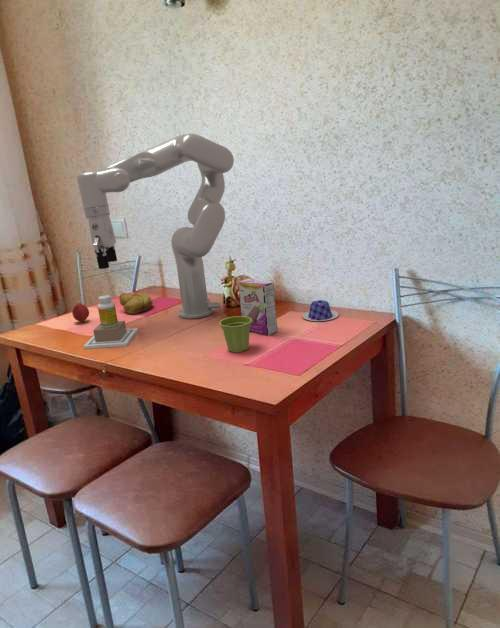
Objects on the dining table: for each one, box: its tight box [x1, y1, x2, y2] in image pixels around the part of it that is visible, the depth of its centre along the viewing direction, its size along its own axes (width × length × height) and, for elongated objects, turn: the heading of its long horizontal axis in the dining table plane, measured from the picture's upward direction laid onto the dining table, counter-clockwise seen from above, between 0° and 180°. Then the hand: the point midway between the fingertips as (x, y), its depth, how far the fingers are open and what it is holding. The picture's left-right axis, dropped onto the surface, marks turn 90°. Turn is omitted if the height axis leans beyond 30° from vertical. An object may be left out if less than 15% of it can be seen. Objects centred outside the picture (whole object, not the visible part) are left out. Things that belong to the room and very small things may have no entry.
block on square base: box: [82, 320, 139, 350], centre depth 167 cm, size 14×14×5 cm
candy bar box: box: [237, 278, 278, 337], centre depth 160 cm, size 11×5×16 cm, turn 47°
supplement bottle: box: [97, 294, 119, 328], centre depth 165 cm, size 5×5×10 cm
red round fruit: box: [72, 301, 90, 323], centre depth 188 cm, size 6×6×8 cm
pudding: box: [302, 299, 339, 322], centre depth 170 cm, size 12×12×5 cm
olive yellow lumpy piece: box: [118, 291, 154, 315], centre depth 197 cm, size 13×10×8 cm
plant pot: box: [219, 315, 252, 353], centre depth 148 cm, size 9×9×9 cm
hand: (108, 264), depth 166 cm, fingers open, 9 cm apart
